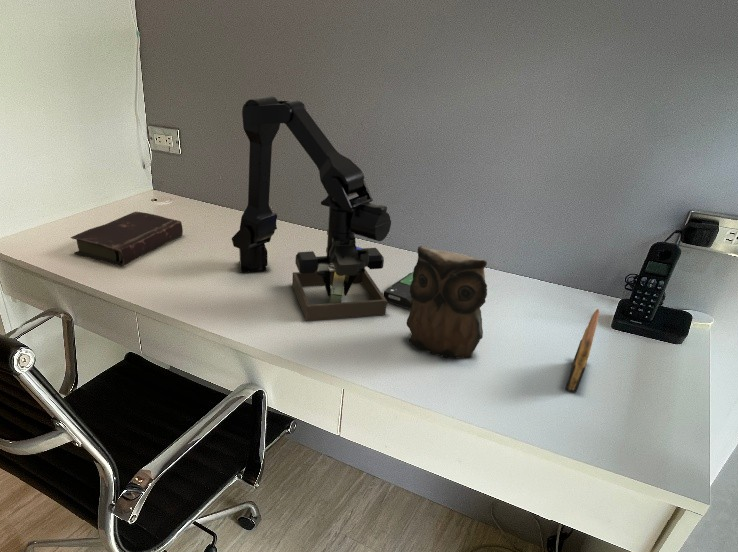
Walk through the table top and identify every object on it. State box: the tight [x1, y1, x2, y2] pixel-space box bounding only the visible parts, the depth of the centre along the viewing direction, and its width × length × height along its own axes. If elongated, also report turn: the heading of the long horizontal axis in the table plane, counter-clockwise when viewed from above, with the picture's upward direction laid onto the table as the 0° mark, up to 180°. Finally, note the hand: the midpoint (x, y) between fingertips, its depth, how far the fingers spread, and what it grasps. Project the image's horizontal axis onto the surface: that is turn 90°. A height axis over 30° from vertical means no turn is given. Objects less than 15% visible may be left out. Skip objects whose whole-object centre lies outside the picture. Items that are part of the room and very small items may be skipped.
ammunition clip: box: [564, 308, 600, 394], centre depth 101 cm, size 11×2×12 cm, turn 149°
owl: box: [406, 245, 488, 359], centre depth 108 cm, size 13×13×20 cm
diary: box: [70, 211, 184, 267], centre depth 156 cm, size 19×25×5 cm
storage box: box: [291, 267, 388, 322], centre depth 129 cm, size 18×18×4 cm
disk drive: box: [383, 271, 413, 310], centre depth 131 cm, size 10×3×15 cm
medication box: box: [328, 272, 345, 303], centre depth 129 cm, size 12×3×4 cm, turn 171°
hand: (336, 295), depth 130 cm, fingers closed on medication box, 3 cm apart
